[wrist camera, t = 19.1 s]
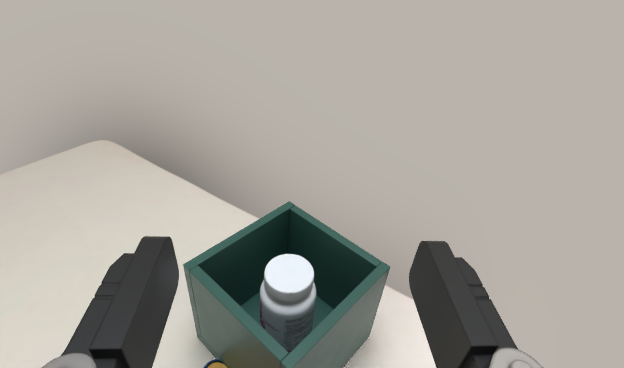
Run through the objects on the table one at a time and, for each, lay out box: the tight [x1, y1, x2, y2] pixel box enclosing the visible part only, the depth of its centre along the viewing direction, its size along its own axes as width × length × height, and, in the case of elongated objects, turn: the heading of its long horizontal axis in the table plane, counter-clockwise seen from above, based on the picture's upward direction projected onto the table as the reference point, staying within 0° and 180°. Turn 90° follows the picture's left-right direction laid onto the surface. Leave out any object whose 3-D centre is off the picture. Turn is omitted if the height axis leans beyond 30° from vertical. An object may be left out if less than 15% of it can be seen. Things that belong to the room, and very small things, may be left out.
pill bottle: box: [260, 254, 316, 353], centre depth 30 cm, size 5×5×8 cm
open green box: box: [183, 202, 390, 368], centre depth 30 cm, size 12×12×10 cm
